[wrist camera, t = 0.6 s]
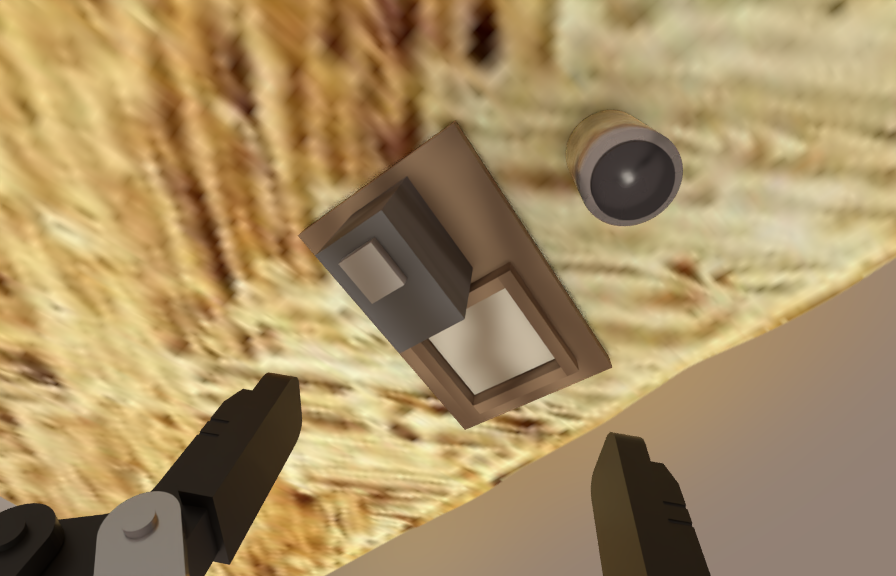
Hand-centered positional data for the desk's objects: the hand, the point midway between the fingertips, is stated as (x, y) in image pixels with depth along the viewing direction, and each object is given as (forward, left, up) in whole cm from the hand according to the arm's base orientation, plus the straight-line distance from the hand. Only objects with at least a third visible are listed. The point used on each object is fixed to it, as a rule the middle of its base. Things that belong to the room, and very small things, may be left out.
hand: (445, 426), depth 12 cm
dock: (+6, +6, -23) cm, 24 cm away
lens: (-8, +2, -23) cm, 24 cm away
